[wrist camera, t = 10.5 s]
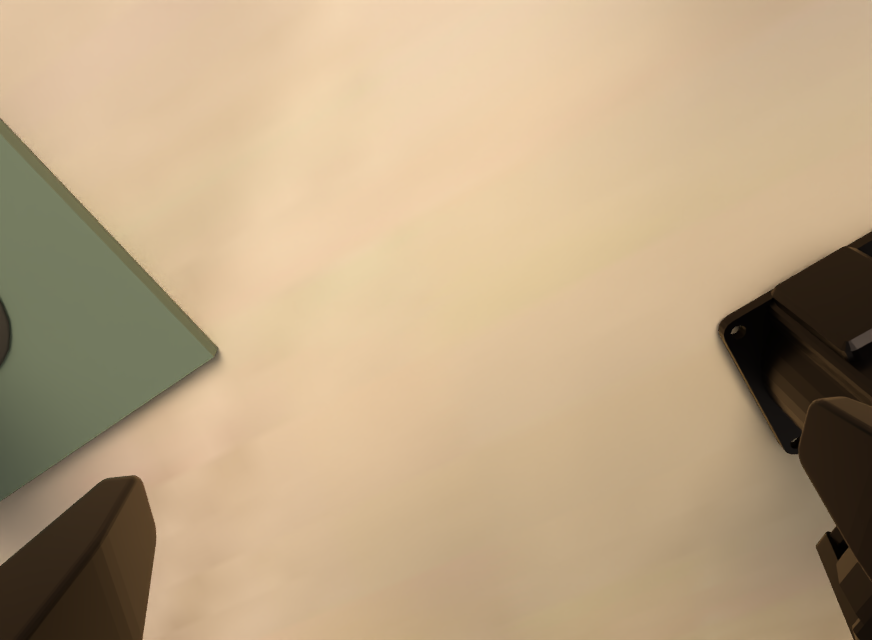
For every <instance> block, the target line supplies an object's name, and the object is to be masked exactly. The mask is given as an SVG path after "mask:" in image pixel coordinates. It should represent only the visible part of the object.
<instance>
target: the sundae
mask: <svg viewBox="0 0 872 640" xmlns="http://www.w3.org/2000/svg"><path fill="white" fill-rule="evenodd" d="M9 342H10V328H9V320H8V317H7V315H6V312H5V309H4V307H3V305H2V303H1V301H0V365H1V364H2V363H3V361H4V359H5V357H6V354H7V352H8V350H9Z"/></svg>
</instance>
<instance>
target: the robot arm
mask: <svg viewBox="0 0 872 640" xmlns="http://www.w3.org/2000/svg"><path fill="white" fill-rule="evenodd" d="M739 325H741V327H740V329H739V330H738V331H737V332H736V333H733V334H731V331H732V329H733V328H734V327H736V326H739ZM718 331H719V335H720V337H721V339H722V340H723V342H724V344H725V346H726V348H727V350H728V351H729V353H730V355H731V357H732V359H733V361H734V362H735V364H736V366H737V368H738V370H739V372H740V373H741V375H742V377H743V379H744V381H745V382H746V384H747V386H748V388H749V390H750V392H751V393H752V395H753V397H754V399H755V401H756V403H757V404H758V406H759V408H760V410H761V412H762V414H763V415H764V417H765V419H766V421H767V423H768V425H769V426H770V428H771V430H772V432H773V434H774V436H775V437H776V439H777V441H778V443H779V444H780V445H781V447H782V448H783V449H784V450H785V451H786V452H787V453H789V454H799V459H800V462H801V464H802V467H803V468H804V470H805V472H806V473H807V475H808V477H809V479H810V480H811V482H812V484H813V486H814V487H815V489H816V491H817V493H818V494H819V496H820V498H821V500H822V501H823V503H824V505H825V507H826V508H827V510H828V512H829V514H830V515H831V517H832V519H833V521H834V522H835V524H836V527H835V528H834V529H833V531H832V532H826V533H825V535H824V536H823V537H822V538H821V540H820V541H819V542H818V544H817V545H816V549H817V551H818V553H819V556H820V558H821V561H822V563H823V566H824V568H825V571H826V573H827V575H828V578H829V580H830V583H831V585H832V588H833V590H834V593H835V595H836V597H837V600H838V602H839V605H840V607H841V610H842V612H843V615H844V617H845V619H846V622H847V624H848V627H849V629H850V632H851V634H852V637H853V639H854V640H872V232H870V233H868V234H867V235H865V236H863V237H861V238H860V239H858V240H856V241H855V242H853V243H851V244H850V245H848V246H845V247H842V248H840V249H839V250H837V251H835V252H833V253H832V254H830V255H828V256H827V257H825V258H823V259H822V260H820V261H818V262H816V263H815V264H813V265H811V266H810V267H808V268H806V269H804V270H803V271H801V272H799V273H798V274H796V275H794V276H792V277H791V278H789V279H787V280H786V281H784V282H782V283H780V284H779V285H777V286H776V287H775V288H774V289H773V290H771V291H769V292H767V293H766V294H764V295H762V296H761V297H759V298H757V299H755V300H754V301H752V302H750V303H749V304H747V305H745V306H743V307H742V308H740V309H738V310H737V311H735V312H733V313H731V314H730V315H728V316H727V317H725V318H724V319H723V320H722V321H721V323H720V324H719V329H718ZM797 437H798V438H797ZM795 438H797V439H796V440H795V441H794V442H791V441H792V440H793V439H795ZM155 547H156V527H155V522H154V519H153V515H152V512H151V509H150V505H149V502H148V498H147V495H146V491H145V488H144V485H143V482H142V481H141V479H140V478H139V477H137V476H135V475H132V476H123V477H114V478H107V479H104V480H102V481H101V482H99V483H98V484H97V485H96V486H95V487H93V488H92V489H91V490H90V491H89V492H88V493H86V494H85V495H84V496H83V497H82V498H80V499H79V500H78V501H77V502H76V503H75V504H73V505H72V506H71V507H70V508H69V509H67V510H66V511H65V512H64V513H63V514H61V515H60V516H59V517H58V518H57V519H56V520H54V521H53V522H52V523H51V524H50V525H48V526H47V527H46V528H45V529H44V530H43V531H41V532H40V533H39V534H38V535H37V536H35V537H34V538H33V539H32V540H31V541H30V542H28V543H27V544H26V545H25V546H24V547H22V548H21V549H20V550H19V551H18V552H16V553H15V554H14V555H13V556H12V557H11V558H9V559H8V560H7V561H6V562H5V563H3V564H2V565H1V566H0V640H142V639H143V632H144V625H145V618H146V611H147V603H148V596H149V589H150V582H151V575H152V568H153V561H154V554H155Z"/></svg>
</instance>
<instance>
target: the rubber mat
mask: <svg viewBox="0 0 872 640" xmlns="http://www.w3.org/2000/svg"><path fill="white" fill-rule="evenodd" d="M0 301H1V303H2V305H3V307H4V309H5V312H6V315H7V317H8V320H9V328H10V342H9V350H8V352H7V354H6V357H5V359H4V361H3V363H2V364H1V365H0V501H1V500H3V499H4V498H6V497H7V496H9V495H10V494H12V493H13V492H15V491H16V490H18V489H19V488H21V487H22V486H24V485H25V484H27V483H28V482H30V481H31V480H33V479H34V478H36V477H37V476H39V475H40V474H41V473H43V472H44V471H46V470H47V469H49V468H50V467H52V466H53V465H55V464H56V463H58V462H59V461H61V460H62V459H64V458H65V457H67V456H68V455H70V454H71V453H73V452H74V451H76V450H77V449H79V448H80V447H81V446H83V445H84V444H86V443H87V442H89V441H90V440H92V439H93V438H95V437H96V436H98V435H99V434H101V433H102V432H104V431H105V430H107V429H108V428H110V427H111V426H113V425H114V424H116V423H117V422H118V421H120V420H121V419H123V418H124V417H126V416H127V415H129V414H130V413H132V412H133V411H135V410H136V409H138V408H139V407H141V406H142V405H144V404H145V403H147V402H148V401H150V400H151V399H153V398H154V397H156V396H157V395H158V394H160V393H161V392H163V391H164V390H166V389H167V388H169V387H170V386H172V385H173V384H175V383H176V382H178V381H179V380H181V379H182V378H184V377H185V376H187V375H188V374H190V373H191V372H193V371H194V370H196V369H197V368H198V367H200V366H201V365H203V364H204V363H206V362H207V361H209V360H210V359H212V358H213V357H214V356H215V354H216V351H217V349H218V348H217V347H216V346H215V344H214V343H213V342H212V341H211V340H210V339H209V338H208V337H207V336H206V335H205V334H204V333H203V332H202V331H201V330H200V329H199V328H198V327H197V325H196V324H195V323H194V322H193V321H192V320H191V319H190V318H189V317H188V316H187V315H186V314H185V313H184V312H183V311H182V310H181V309H180V308H179V307H178V305H177V304H176V303H175V302H174V301H173V300H172V299H171V298H170V297H169V296H168V295H167V294H166V293H165V292H164V291H163V290H162V289H161V288H160V286H159V285H158V284H157V283H156V282H155V281H154V280H153V279H152V278H151V277H150V276H149V275H148V274H147V273H146V272H145V271H144V270H143V269H142V268H141V266H140V265H139V264H138V263H137V262H136V261H135V260H134V259H133V258H132V257H131V256H130V255H129V254H128V253H127V252H126V251H125V250H124V249H123V247H122V246H121V245H120V244H119V243H118V242H117V241H116V240H115V239H114V238H113V237H112V236H111V235H110V234H109V233H108V232H107V231H106V230H105V229H104V227H103V226H102V225H101V224H100V223H99V222H98V221H97V220H96V219H95V218H94V217H93V216H92V215H91V214H90V213H89V212H88V211H87V210H86V208H85V207H84V206H83V205H82V204H81V203H80V202H79V201H78V200H77V199H76V198H75V197H74V196H73V195H72V194H71V193H70V192H69V191H68V190H67V188H66V187H65V186H64V185H63V184H62V183H61V182H60V181H59V180H58V179H57V178H56V177H55V176H54V175H53V174H52V173H51V172H50V171H49V169H48V168H47V167H46V166H45V165H44V164H43V163H42V162H41V161H40V160H39V159H38V158H37V157H36V156H35V155H34V154H33V153H32V152H31V151H30V149H29V148H28V147H27V146H26V145H25V144H24V143H23V142H22V141H21V140H20V139H19V138H18V137H17V136H16V135H15V134H14V133H13V132H12V130H11V129H10V128H9V127H8V126H7V125H6V124H5V123H4V122H3V121H2V120H1V119H0Z"/></svg>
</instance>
